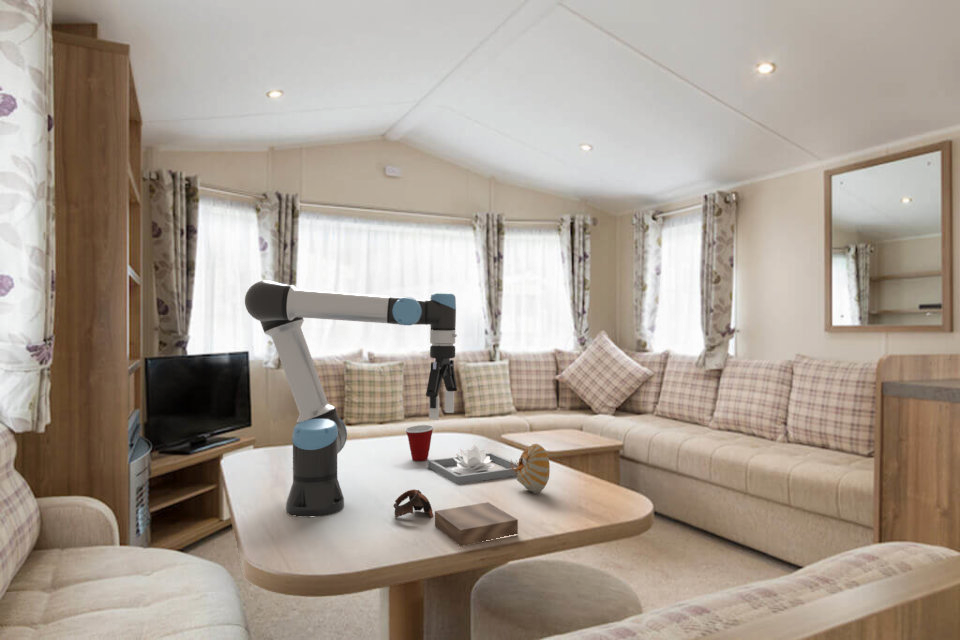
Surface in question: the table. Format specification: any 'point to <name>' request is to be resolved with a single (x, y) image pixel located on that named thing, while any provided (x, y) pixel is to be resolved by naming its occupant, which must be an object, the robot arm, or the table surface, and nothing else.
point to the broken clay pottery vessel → (412, 503)
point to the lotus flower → (472, 461)
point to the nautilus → (533, 468)
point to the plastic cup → (419, 441)
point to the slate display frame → (467, 478)
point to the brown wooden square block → (475, 523)
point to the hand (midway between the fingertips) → (441, 415)
